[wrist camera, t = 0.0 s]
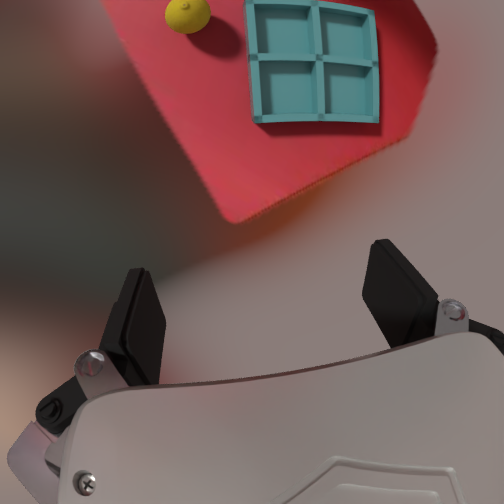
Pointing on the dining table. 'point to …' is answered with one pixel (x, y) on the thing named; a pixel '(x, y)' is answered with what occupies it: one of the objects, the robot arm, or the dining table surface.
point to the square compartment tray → (311, 61)
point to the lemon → (187, 15)
